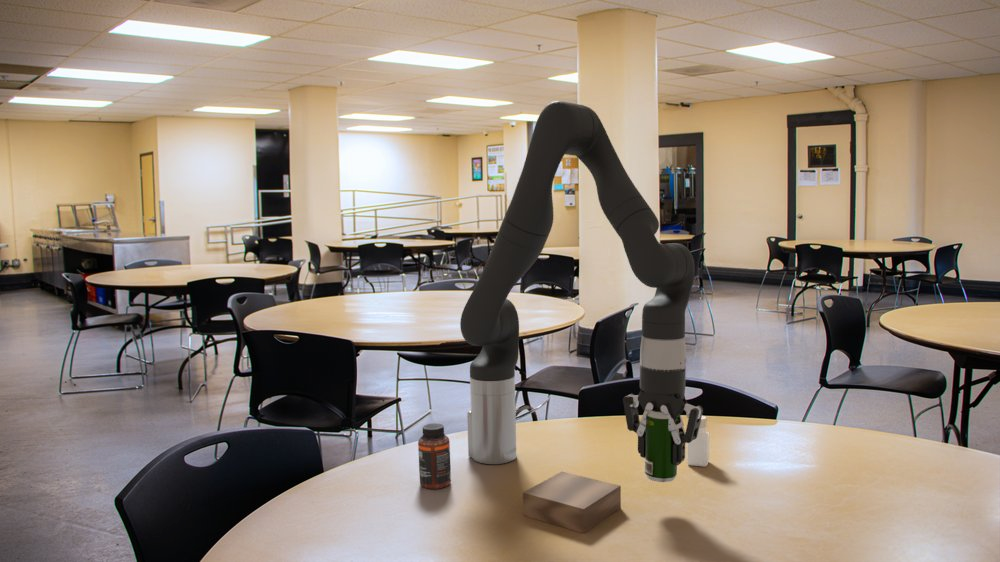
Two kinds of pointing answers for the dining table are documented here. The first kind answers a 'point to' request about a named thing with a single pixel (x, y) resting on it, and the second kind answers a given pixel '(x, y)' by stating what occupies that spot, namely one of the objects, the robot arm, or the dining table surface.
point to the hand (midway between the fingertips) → (661, 459)
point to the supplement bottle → (434, 457)
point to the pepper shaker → (699, 446)
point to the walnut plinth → (572, 501)
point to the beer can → (659, 448)
